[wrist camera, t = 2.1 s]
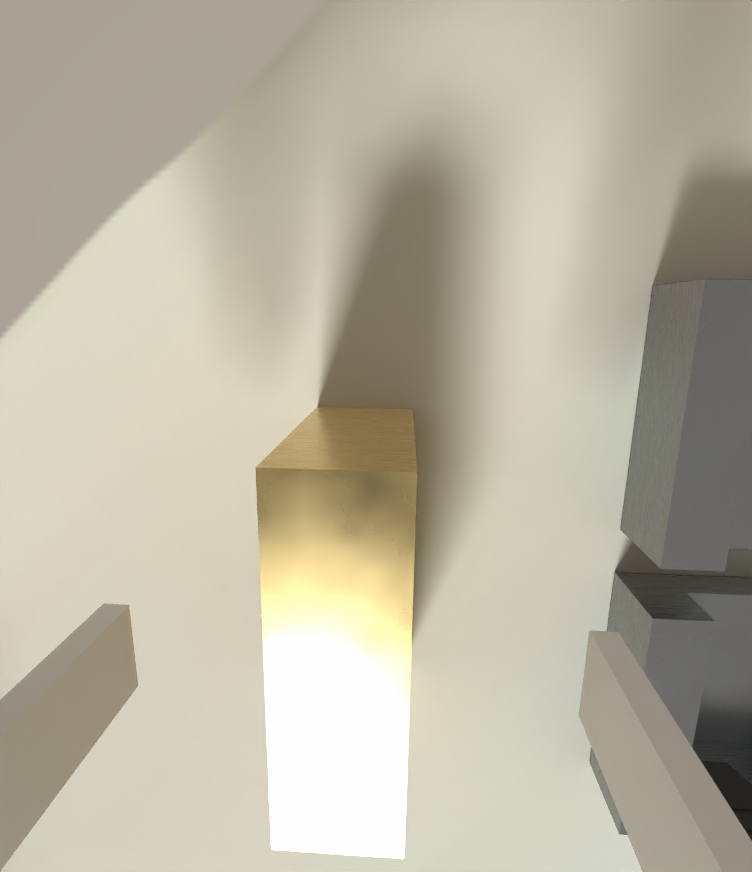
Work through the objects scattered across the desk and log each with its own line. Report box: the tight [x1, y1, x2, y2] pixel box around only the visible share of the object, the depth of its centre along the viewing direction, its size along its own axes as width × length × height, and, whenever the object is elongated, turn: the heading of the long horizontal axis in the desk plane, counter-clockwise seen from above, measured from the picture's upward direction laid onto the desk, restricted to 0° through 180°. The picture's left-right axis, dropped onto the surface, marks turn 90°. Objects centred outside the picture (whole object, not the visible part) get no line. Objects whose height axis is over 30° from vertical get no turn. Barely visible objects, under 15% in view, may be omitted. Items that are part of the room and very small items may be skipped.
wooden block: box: [256, 407, 417, 859], centre depth 18 cm, size 4×12×9 cm, turn 179°
